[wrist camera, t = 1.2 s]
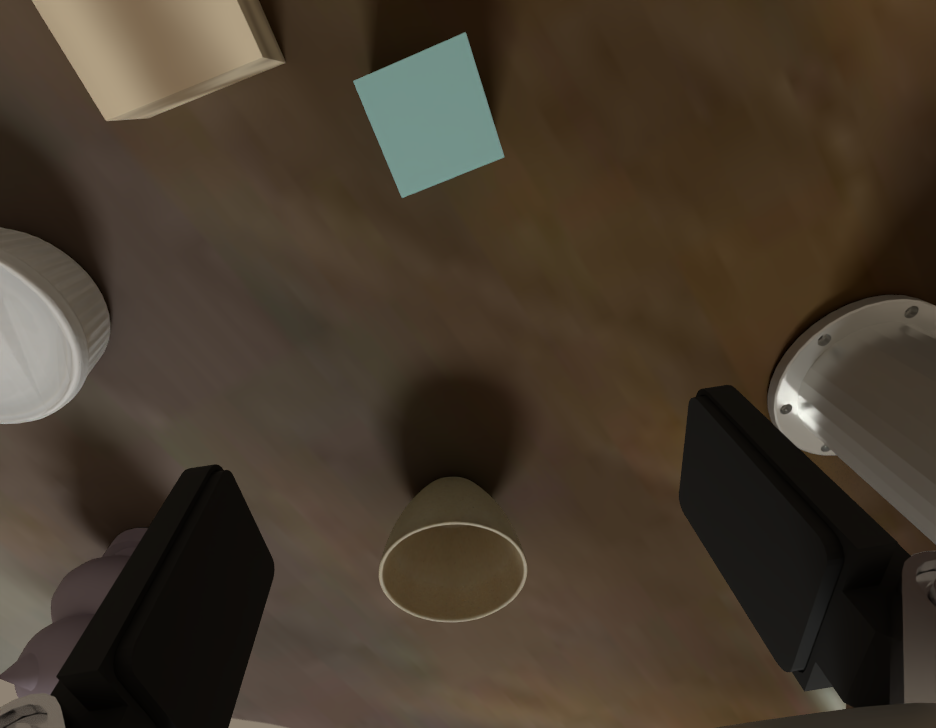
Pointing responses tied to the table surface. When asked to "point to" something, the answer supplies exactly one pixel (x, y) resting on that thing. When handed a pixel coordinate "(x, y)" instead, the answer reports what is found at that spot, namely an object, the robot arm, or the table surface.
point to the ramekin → (45, 327)
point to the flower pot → (452, 554)
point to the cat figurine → (70, 617)
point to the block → (431, 115)
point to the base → (160, 49)
